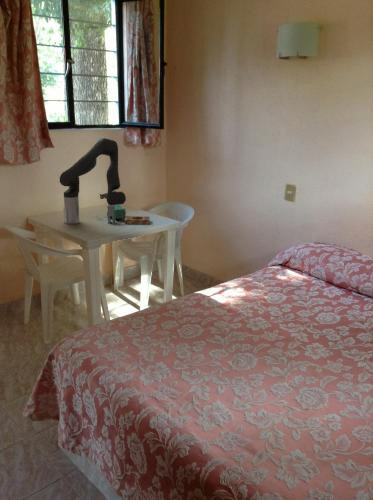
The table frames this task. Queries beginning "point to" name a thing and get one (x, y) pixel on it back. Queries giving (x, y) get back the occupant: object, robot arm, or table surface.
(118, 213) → the toy
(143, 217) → the rail
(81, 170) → the robot arm
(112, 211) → the clip
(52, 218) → the table surface
